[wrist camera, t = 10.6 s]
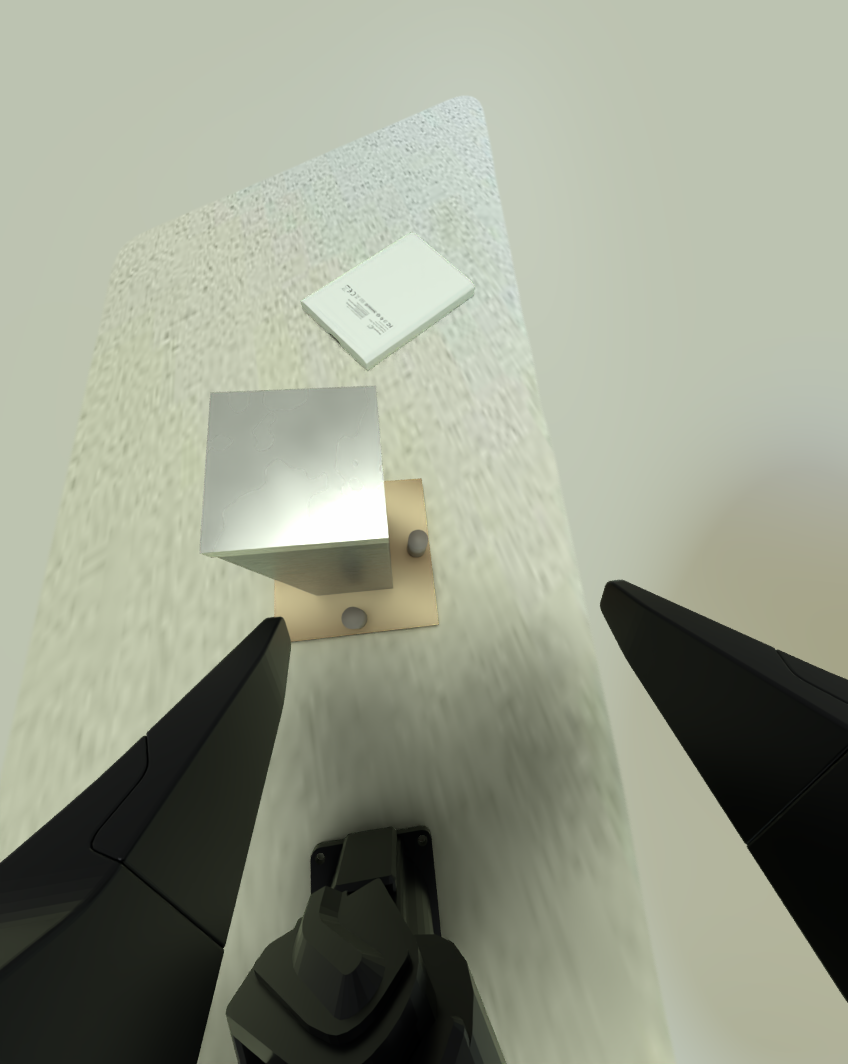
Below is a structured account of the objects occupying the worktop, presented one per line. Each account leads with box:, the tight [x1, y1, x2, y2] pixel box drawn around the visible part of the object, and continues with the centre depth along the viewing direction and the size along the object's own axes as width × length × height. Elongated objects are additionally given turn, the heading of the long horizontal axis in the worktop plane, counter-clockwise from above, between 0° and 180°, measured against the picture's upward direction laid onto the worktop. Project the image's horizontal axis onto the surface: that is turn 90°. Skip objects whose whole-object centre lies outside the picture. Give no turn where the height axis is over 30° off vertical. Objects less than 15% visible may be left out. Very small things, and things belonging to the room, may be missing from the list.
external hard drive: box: [300, 232, 475, 371], centre depth 29 cm, size 2×8×12 cm
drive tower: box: [200, 386, 393, 596], centre depth 16 cm, size 5×5×13 cm
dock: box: [274, 479, 439, 642], centre depth 22 cm, size 10×10×4 cm
